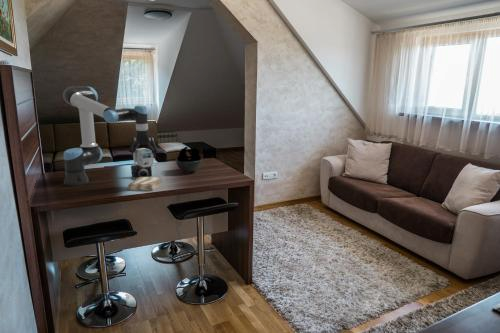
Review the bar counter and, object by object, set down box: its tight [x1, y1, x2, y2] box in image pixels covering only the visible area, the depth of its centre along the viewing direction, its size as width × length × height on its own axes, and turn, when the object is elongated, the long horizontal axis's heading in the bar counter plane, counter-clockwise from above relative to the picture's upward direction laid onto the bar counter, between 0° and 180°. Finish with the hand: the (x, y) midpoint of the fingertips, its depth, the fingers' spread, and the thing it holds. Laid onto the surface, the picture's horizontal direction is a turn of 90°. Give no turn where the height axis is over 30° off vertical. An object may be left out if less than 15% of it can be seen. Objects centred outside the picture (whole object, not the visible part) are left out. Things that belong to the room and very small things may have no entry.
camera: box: [130, 163, 153, 179], centre depth 247 cm, size 14×11×10 cm
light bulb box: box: [135, 147, 153, 167], centre depth 223 cm, size 11×7×11 cm, turn 41°
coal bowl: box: [175, 146, 203, 173], centre depth 264 cm, size 20×20×19 cm
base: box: [127, 176, 163, 192], centre depth 228 cm, size 16×18×4 cm
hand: (144, 162), depth 224 cm, fingers closed on light bulb box, 12 cm apart
